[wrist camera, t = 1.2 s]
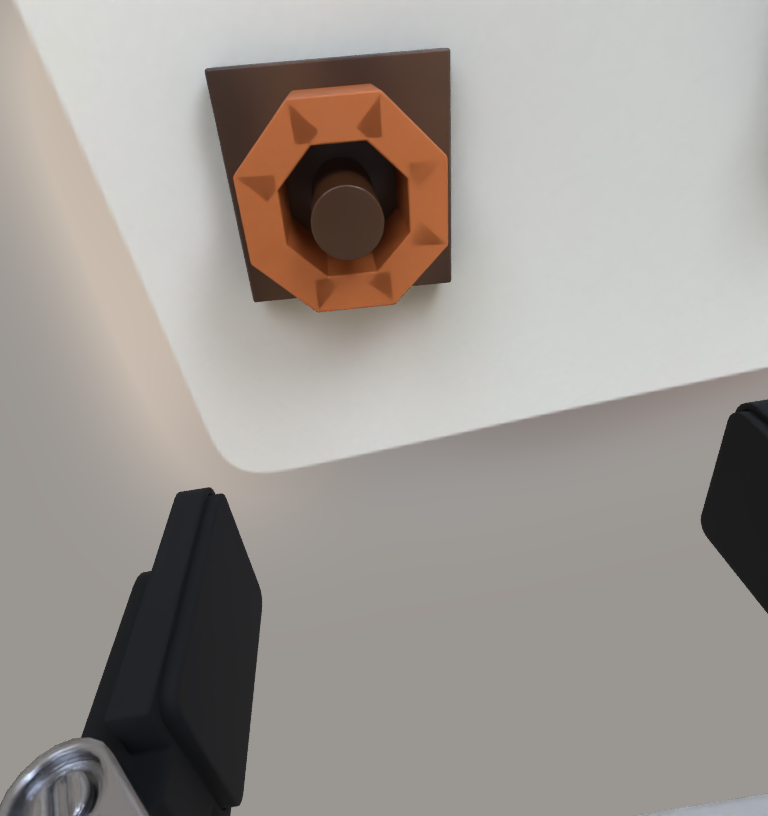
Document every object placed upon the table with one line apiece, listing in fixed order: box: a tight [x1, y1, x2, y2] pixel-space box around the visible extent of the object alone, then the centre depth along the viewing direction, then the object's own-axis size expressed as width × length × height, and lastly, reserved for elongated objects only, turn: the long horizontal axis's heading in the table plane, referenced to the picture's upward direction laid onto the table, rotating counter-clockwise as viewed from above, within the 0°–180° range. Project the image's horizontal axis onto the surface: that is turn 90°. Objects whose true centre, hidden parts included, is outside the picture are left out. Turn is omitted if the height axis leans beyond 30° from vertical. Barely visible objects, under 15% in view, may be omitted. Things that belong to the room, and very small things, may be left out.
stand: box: [205, 48, 451, 302], centre depth 21 cm, size 9×9×7 cm
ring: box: [233, 84, 448, 312], centre depth 21 cm, size 7×7×4 cm
